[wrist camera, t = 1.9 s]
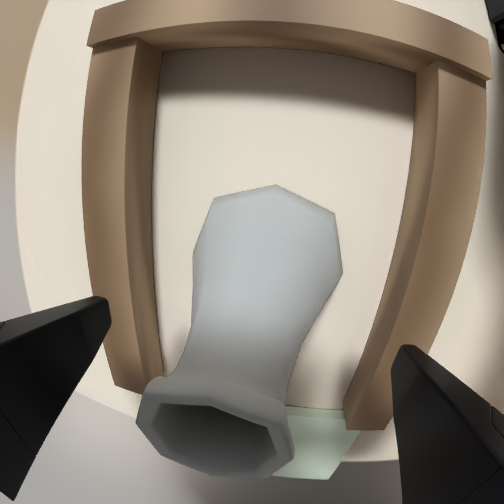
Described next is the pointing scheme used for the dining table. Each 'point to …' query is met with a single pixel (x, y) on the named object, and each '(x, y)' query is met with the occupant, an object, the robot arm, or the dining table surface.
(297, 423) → the pad
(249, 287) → the flask
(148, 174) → the frame
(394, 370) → the robot arm
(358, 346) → the dining table surface
